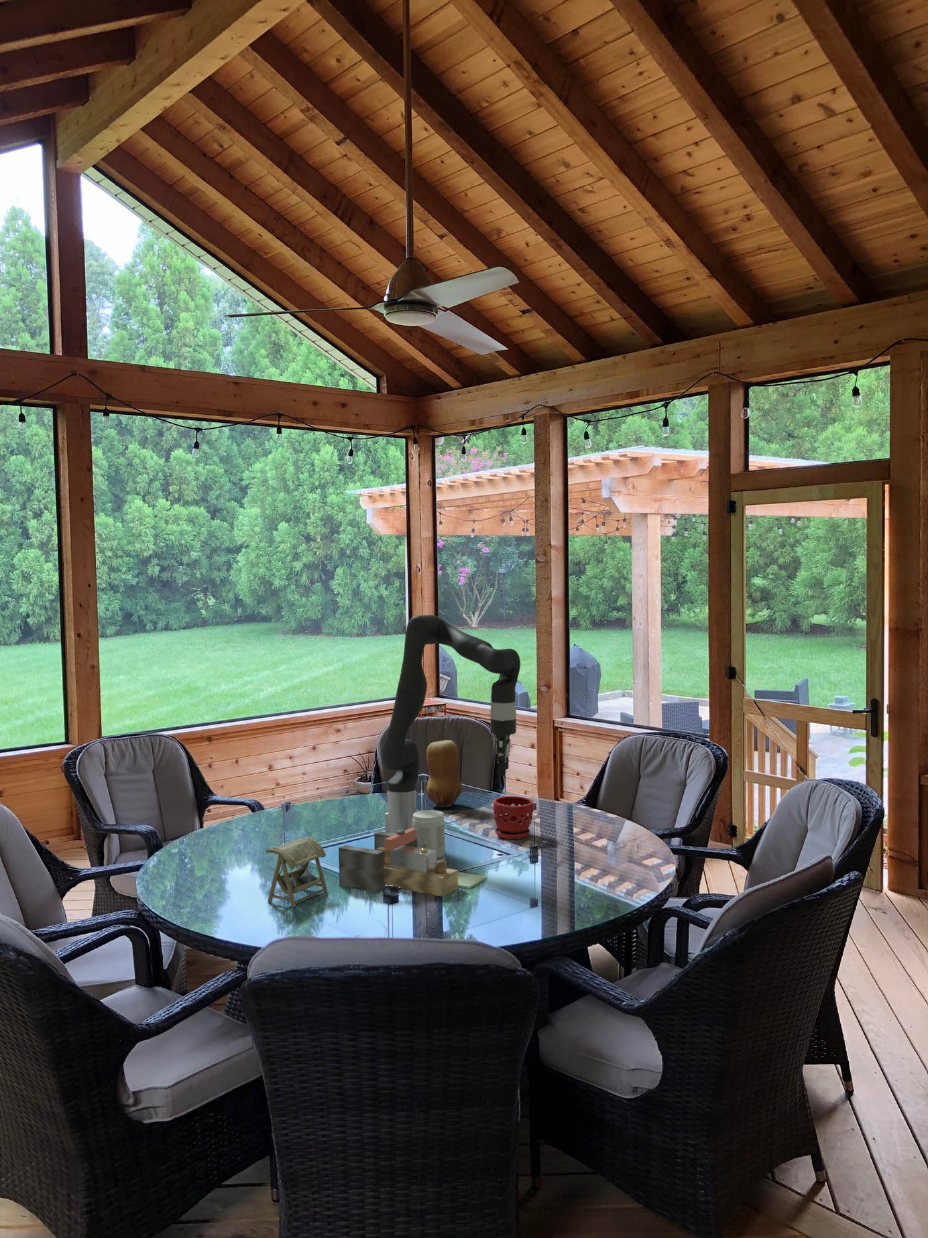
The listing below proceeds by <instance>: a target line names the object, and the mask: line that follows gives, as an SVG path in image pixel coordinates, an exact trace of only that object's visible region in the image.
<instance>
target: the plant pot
mask: <svg viewBox="0 0 928 1238" xmlns="http://www.w3.org/2000/svg"><path fill="white" fill-rule="evenodd" d="M492 808H493V820H494V822H495V825H496V827H495V829H494V832H495V834H496V836H498V837H499V838H502V839H507V840H520V839H524V838H527V837H528V836H529V835H530V834H531V830H530V829H529V828H530V826H531V824H532V821H533V815H534V814H533V813H534V801H533V800H532V799H530V798H529V797H528V798H527V797H523V796H516V795H514V796H512V795H510V796H509V795H506V796H499V797H497V798H495V799H493V807H492Z"/></svg>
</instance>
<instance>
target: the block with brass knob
mask: <svg viewBox="0 0 928 1238" xmlns="http://www.w3.org/2000/svg"><path fill="white" fill-rule="evenodd" d="M435 861H436V850H429V849H427V848H417V847H410V846H404V845H403V846H400V847H398V848H396V849H393V850H391V851H390V867H393V868H398V869H404V870H410V871H416V872H422V873H428V872H430V871H432V870H434V869H435Z"/></svg>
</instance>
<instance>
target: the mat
mask: <svg viewBox="0 0 928 1238" xmlns="http://www.w3.org/2000/svg"><path fill="white" fill-rule="evenodd" d="M487 878H488V877H487V876H484V875H478V874H473V873H467V872H461V871H458V888H463V889H469V890H470V889H471V888H474V887H475V886H477V885H479V884H480V883H482V882H484V881H486V880H487Z"/></svg>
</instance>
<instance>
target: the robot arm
mask: <svg viewBox="0 0 928 1238" xmlns="http://www.w3.org/2000/svg"><path fill="white" fill-rule="evenodd" d="M433 644H434V645H435V644H440V645H443V646H448V647H450V648H451V649H453V650H454V651H455V652H456V653H457V654H458V655H459V656H461V657H463V658H464V659H466V660H468V661H471V662H474V663H476V664H479V666H480V667H482V668H483V669H485V670H486V671H488V672H489V673H493V674H495V675H496V674H497V675H499V676H498V679H497V680H495V681H494V682H493V683H492V684H491V689H490V691H491V693H490V695H491V698H490V699H491V703H490V712H489V713H490V715H489V716H490V723H489V724H490V727H489V728H490V733H491V734H492V735H497V736H498V737H497V739H496V740H495V746H496V750H495V753H496V758H495V760H496V762H497V775H498V776H505V775H506V773H507V772H506V771H507V770H509V767H510V766H509V764H510V763H509V757H510V752H511V743H512V741H511V738H510V736H511V735H514V734H516V733H517V707H516V686H517V683H518V678H519V674H520V670H521V658H520V655H519V653H518V652H517V650H516V649H513V648H500V649H497V648H494V647H493V645H492V644H491V643H490V642H488V641H486V640H484V639H482V638H479V637H476V636H474V635H471V634H469V633H466V632H464V631H462V630H460V629H459V628H456V627H455V626H454V625H451V624H449V623H448V621H445V620H444V619H442V618H441V617H439V616H437V615H434V614H422V615H414V616H412V617H411V618H410V619H409V620H408V622H407V625H406V630H405V637H404V648H403V649H404V650H403V655H402V656H403V658H402V664H401V668H400V669H401V670H400V675H399V680H398V683H397V689H396V693H395V699H394V705H393V710H392V713H391V716H390V717H391V719H390V722H389V727H388V730H387V731H386V736H385V739H384V742H383V746H382V748H381V749H382V751H381V762H382V764H383V766H384V768H385V769H387V770H389V771H395V774H394V775H393V776H392V777H391V778H390V779H388V781H387V785H386V786H387V789H386V791H387V794H386V795H387V797H386V798H387V799H386V800H387V812H385V814H384V832H390V833H396V831H397V830H407V829H409V828H413V814H414V813H415V812H417V783H418V781H419V769H420V753H419V748H418V746H417V743H416V742H415V741H414V740H413V739H410V738H407V735H408V732H409V730H410V728H411V726H412V725H413V724H414V722H415V720H416V719H417V717H418V716H419V715H420V713H421V711H422V710H423V708H424V704H425V700H426V696H427V690H428V682H427V677H426V674H425V671H424V667H423V655H424V650H425V646H427V645H433Z"/></svg>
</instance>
